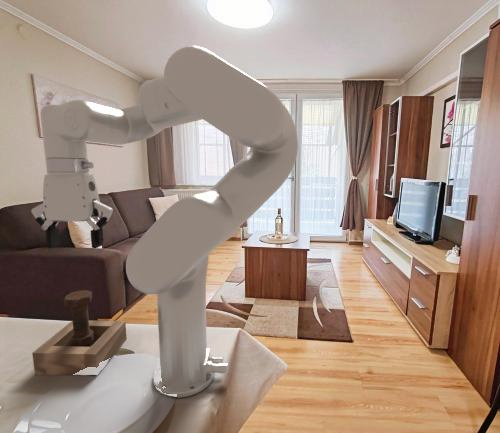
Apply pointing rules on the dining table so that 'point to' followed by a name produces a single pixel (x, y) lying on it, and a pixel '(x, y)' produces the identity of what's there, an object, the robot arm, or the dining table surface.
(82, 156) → the robot arm
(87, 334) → the bolt
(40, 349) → the socket block
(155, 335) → the dining table surface
